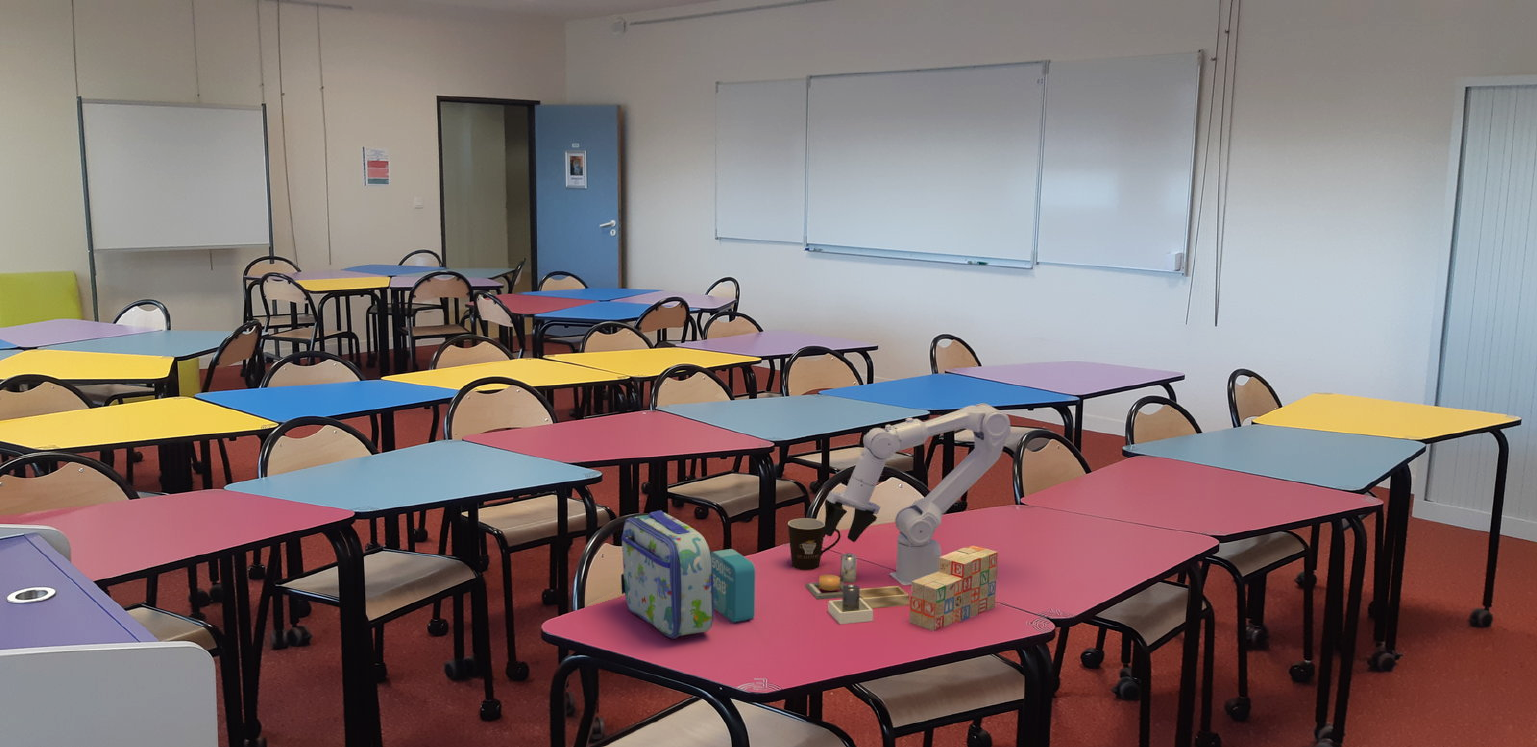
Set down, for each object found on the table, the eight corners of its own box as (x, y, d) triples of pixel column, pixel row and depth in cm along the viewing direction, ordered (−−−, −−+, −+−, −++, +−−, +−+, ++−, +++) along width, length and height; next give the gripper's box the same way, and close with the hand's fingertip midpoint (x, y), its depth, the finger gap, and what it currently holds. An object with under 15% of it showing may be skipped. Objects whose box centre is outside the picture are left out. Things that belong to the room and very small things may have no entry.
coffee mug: (782, 569, 250) (783, 526, 249) (792, 557, 259) (793, 516, 257) (832, 574, 247) (833, 532, 246) (840, 563, 255) (841, 521, 254)
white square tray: (860, 610, 226) (860, 597, 225) (872, 623, 219) (873, 610, 218) (828, 613, 224) (828, 600, 223) (839, 626, 217) (840, 613, 217)
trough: (898, 597, 234) (898, 585, 233) (908, 607, 228) (909, 595, 228) (853, 601, 231) (853, 589, 230) (862, 611, 225) (863, 599, 225)
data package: (709, 605, 227) (710, 549, 226) (729, 601, 229) (730, 546, 228) (734, 625, 217) (735, 567, 215) (755, 621, 219) (755, 563, 217)
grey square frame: (840, 585, 240) (840, 579, 240) (853, 598, 232) (853, 591, 232) (805, 588, 238) (805, 582, 238) (817, 601, 230) (817, 594, 230)
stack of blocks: (934, 634, 214) (936, 574, 212) (908, 625, 219) (910, 566, 217) (995, 607, 229) (998, 550, 227) (970, 599, 234) (973, 543, 232)
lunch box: (615, 604, 227) (615, 506, 224) (663, 596, 232) (663, 500, 229) (667, 649, 205) (667, 541, 201) (718, 639, 210) (719, 533, 207)
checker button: (835, 582, 238) (835, 573, 237) (842, 589, 233) (842, 580, 233) (816, 584, 236) (816, 575, 236) (822, 591, 232) (823, 582, 232)
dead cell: (855, 612, 223) (856, 581, 222) (861, 618, 220) (862, 587, 219) (839, 613, 222) (840, 583, 221) (845, 619, 219) (846, 588, 218)
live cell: (852, 578, 245) (853, 550, 244) (858, 583, 241) (858, 555, 240) (838, 580, 244) (839, 551, 243) (843, 585, 241) (844, 556, 240)
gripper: (874, 480, 247) (850, 535, 248) (829, 467, 238) (804, 524, 239) (894, 492, 241) (870, 548, 242) (849, 479, 232) (824, 537, 233)
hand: (839, 537), depth 240 cm, fingers open, 7 cm apart
